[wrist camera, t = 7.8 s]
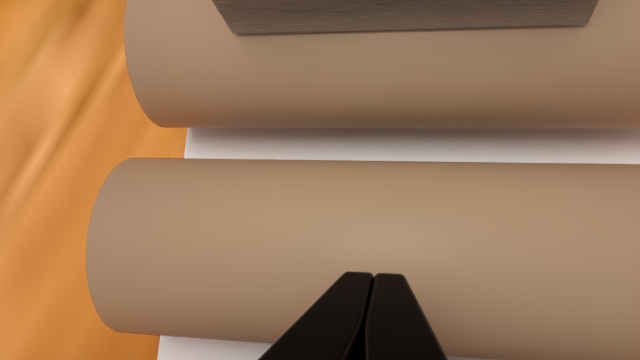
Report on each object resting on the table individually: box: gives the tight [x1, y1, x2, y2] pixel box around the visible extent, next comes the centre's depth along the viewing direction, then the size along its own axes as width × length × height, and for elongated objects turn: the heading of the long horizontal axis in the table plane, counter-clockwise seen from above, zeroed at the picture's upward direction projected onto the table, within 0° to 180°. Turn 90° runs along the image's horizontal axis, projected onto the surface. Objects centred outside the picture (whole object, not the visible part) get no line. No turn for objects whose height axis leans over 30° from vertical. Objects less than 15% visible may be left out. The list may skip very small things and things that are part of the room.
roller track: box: [86, 0, 640, 360], centre depth 13 cm, size 25×12×7 cm, turn 176°
